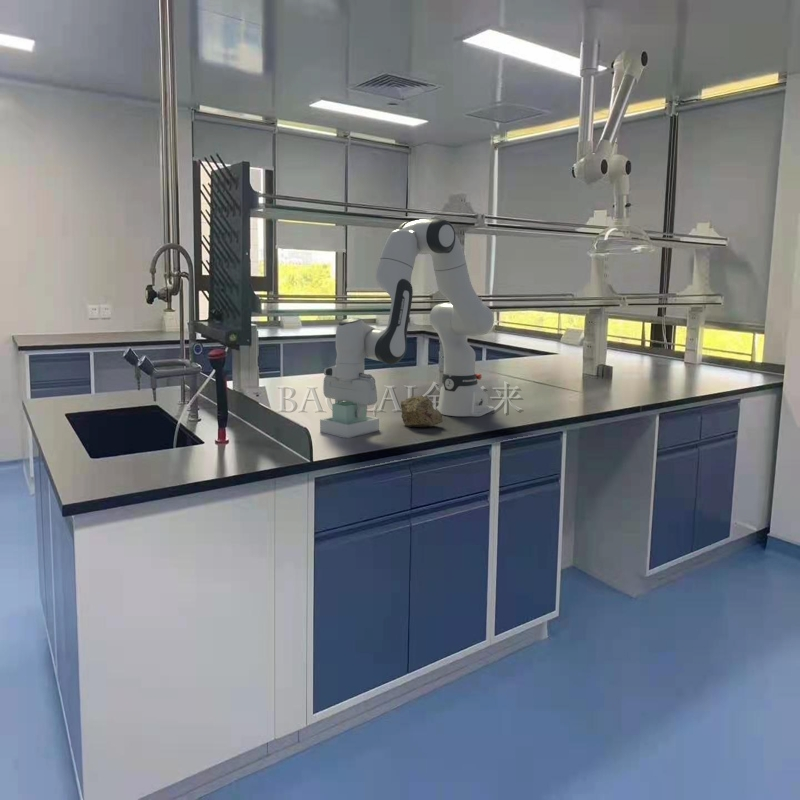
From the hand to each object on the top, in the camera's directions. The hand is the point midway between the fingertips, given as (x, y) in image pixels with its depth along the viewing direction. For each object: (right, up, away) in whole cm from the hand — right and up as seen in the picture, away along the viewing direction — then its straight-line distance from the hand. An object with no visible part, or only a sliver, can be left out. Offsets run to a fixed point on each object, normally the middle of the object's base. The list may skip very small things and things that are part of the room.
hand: (349, 415), depth 207 cm
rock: (+22, -4, +11) cm, 25 cm away
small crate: (0, -2, 0) cm, 2 cm away
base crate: (0, -5, +1) cm, 5 cm away
